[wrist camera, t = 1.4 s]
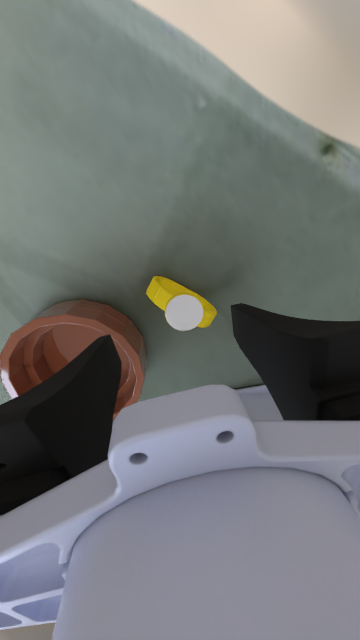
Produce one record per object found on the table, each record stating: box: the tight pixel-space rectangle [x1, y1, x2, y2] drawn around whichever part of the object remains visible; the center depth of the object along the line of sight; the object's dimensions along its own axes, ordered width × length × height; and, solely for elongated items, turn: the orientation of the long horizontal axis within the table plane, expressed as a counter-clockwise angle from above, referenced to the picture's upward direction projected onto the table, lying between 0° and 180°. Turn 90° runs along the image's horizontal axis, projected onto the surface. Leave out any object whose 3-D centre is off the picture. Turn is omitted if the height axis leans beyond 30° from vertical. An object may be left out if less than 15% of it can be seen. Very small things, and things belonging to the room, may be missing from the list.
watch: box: [146, 276, 217, 331], centre depth 18 cm, size 6×3×6 cm, turn 61°
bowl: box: [0, 299, 147, 421], centre depth 20 cm, size 11×11×4 cm
